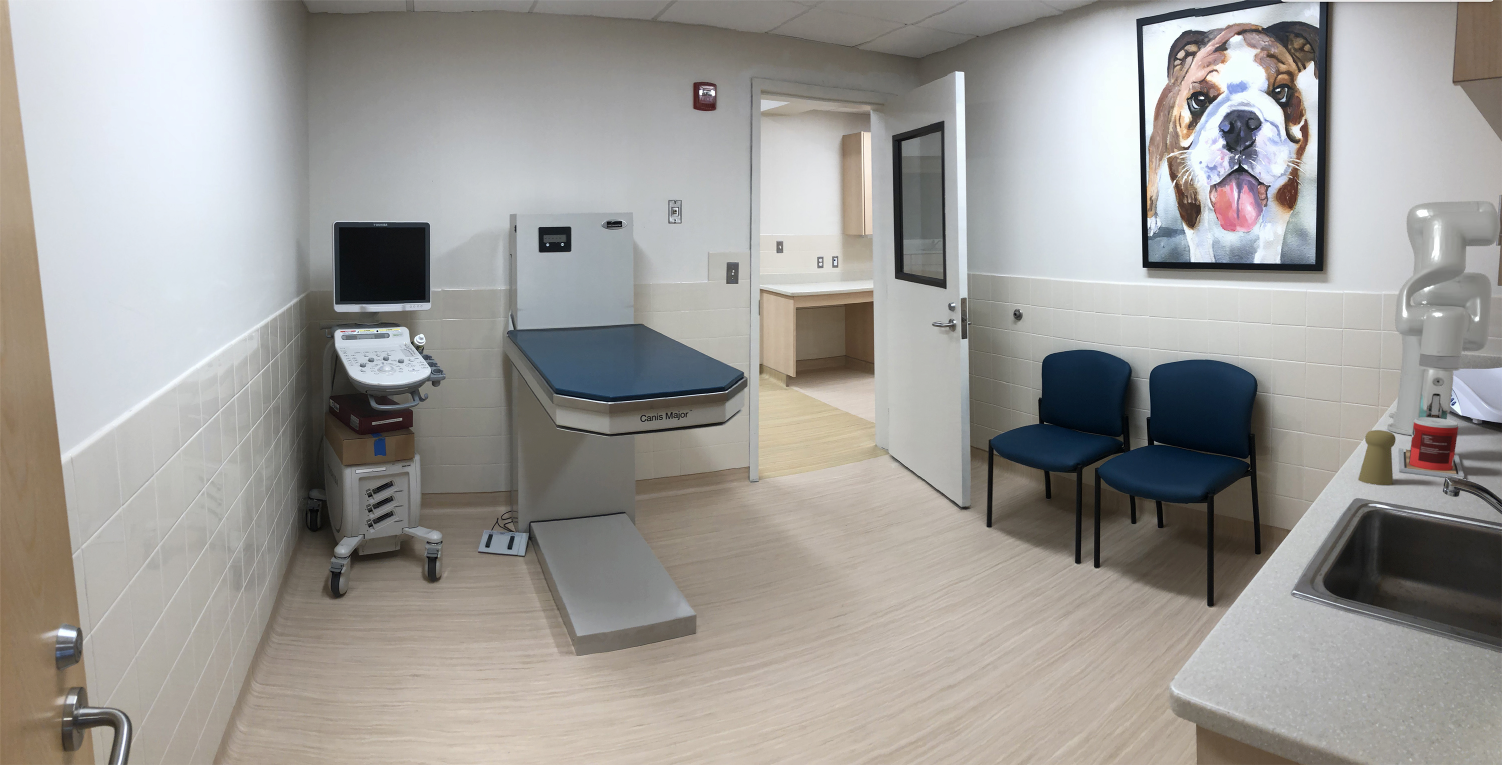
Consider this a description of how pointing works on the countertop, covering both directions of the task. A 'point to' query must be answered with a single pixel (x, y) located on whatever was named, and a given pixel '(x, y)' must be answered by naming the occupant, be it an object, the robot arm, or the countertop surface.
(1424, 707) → the countertop surface
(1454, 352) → the robot arm
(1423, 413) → the teal upright with base
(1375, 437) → the cork
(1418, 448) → the canned food
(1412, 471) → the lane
